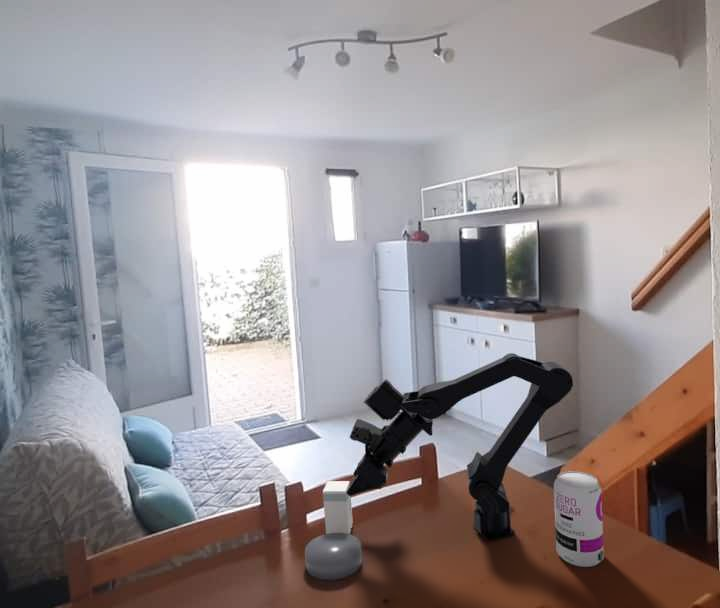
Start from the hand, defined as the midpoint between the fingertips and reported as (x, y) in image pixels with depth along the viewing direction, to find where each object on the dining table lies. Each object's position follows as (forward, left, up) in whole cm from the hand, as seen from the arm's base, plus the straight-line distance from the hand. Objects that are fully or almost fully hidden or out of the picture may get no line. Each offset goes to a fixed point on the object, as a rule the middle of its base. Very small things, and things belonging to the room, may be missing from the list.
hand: (351, 484), depth 111 cm
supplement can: (-37, +26, -11) cm, 46 cm away
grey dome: (+7, +10, -10) cm, 16 cm away
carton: (+3, -1, -10) cm, 11 cm away
